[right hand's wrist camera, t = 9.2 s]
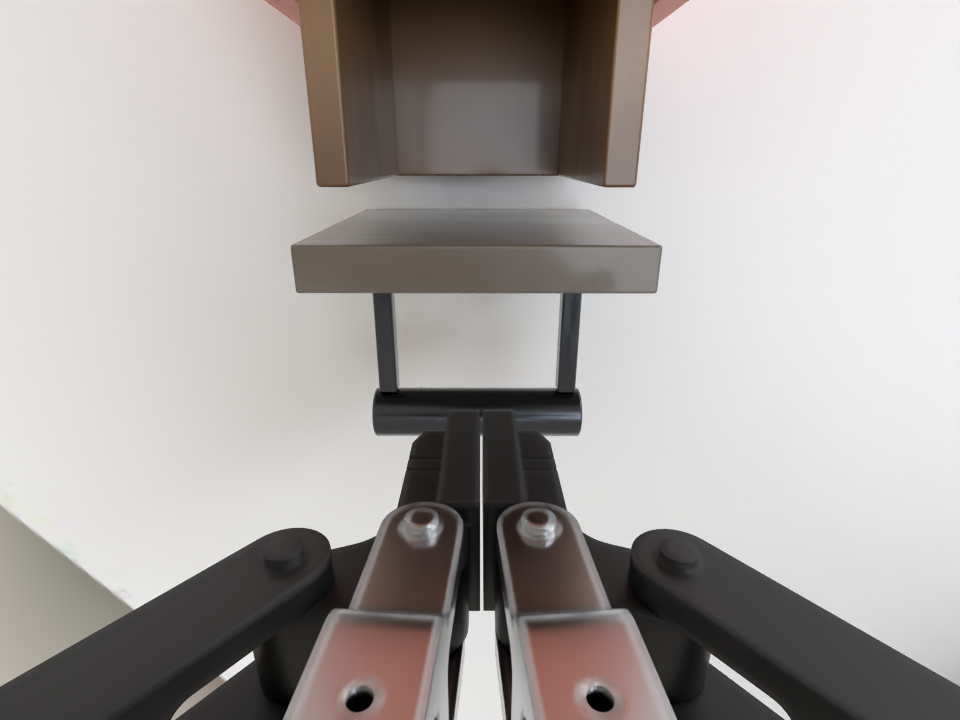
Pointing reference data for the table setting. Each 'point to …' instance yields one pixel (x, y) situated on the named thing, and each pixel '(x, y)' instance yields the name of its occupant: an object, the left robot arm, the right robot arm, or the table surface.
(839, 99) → the table surface
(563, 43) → the drawer
